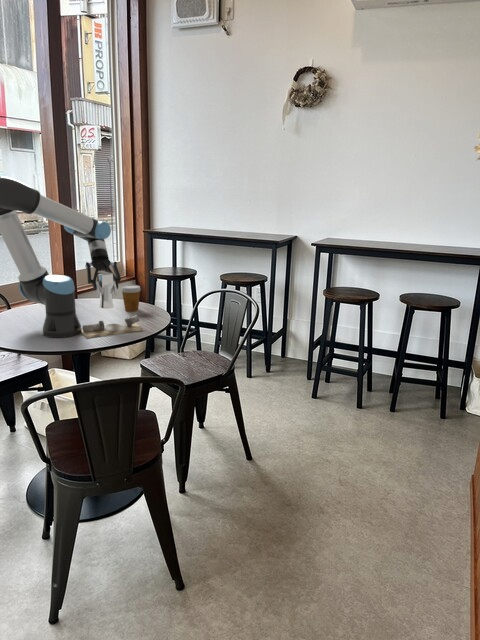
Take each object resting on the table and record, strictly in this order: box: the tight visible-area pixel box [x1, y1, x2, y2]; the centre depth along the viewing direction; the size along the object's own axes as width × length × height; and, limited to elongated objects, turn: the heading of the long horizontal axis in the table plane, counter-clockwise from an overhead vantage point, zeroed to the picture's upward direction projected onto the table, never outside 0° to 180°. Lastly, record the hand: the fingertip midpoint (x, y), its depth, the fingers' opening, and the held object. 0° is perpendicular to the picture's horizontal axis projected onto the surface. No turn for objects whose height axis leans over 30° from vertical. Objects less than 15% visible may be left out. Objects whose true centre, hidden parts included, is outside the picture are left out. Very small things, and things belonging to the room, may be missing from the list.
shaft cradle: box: [80, 314, 144, 339], centre depth 204 cm, size 24×10×6 cm, turn 122°
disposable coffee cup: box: [120, 284, 142, 313], centre depth 236 cm, size 10×10×12 cm
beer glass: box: [96, 271, 114, 310], centre depth 210 cm, size 7×7×15 cm
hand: (107, 295), depth 208 cm, fingers closed on beer glass, 7 cm apart
